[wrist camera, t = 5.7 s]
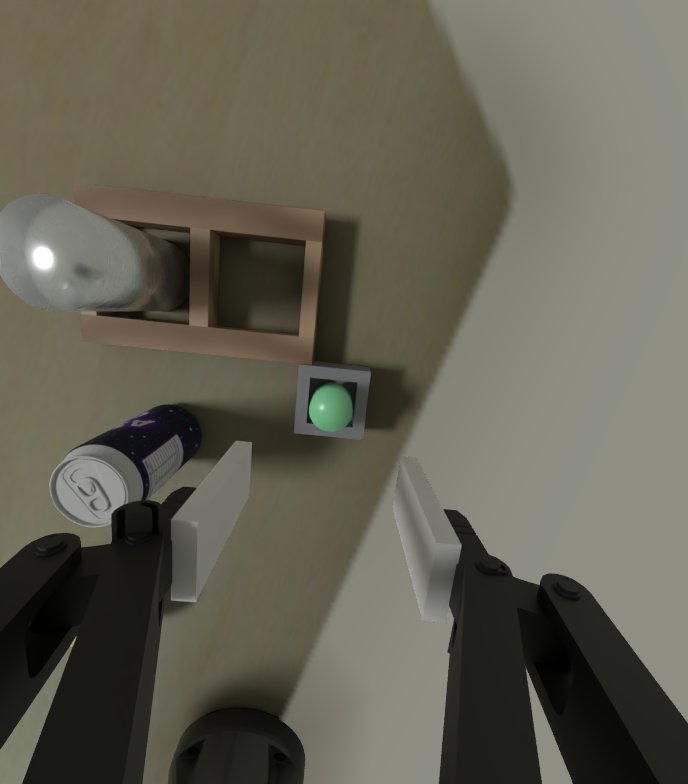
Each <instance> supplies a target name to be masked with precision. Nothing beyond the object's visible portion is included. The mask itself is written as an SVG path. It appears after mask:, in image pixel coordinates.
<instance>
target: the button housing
mask: <svg viewBox="0 0 688 784" xmlns="http://www.w3.org/2000/svg"><path fill="white" fill-rule="evenodd" d="M370 376H371V371H370V369H369V367H368V366H358V365H348V364H339V363H329V362H319V361H313V363H312V365H308V364H299V372H298V385H297V398H296V410H295V423H294V433H297V434H307V435H318V436H328V437H339V438H349V439H359V440H363V434H364V426H365V417H366V409H367V401H368V393H369V384H370ZM329 382H334V383H339V384H341V385H343V386H344V387H345V388H346V389H347V390H348V391H349V393H350V395H351V400H352V409H353V413H352V417H351V420H350V422H349V423H348V424H347V425H346V426H345V427H344V428H343V429H341V430H338V431H334V432H328V431H324V430H321V429H319V428H318V427H317V426H315V425H314V423H313V422H312V420H311V418H310V415H309V406H310V403H311V400H312V397H313V394H314V392H315V391H316V389H317V388H318V387H319V386H321V385H323V384H325V383H329Z"/></svg>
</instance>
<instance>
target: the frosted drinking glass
mask: <svg viewBox="0 0 688 784" xmlns="http://www.w3.org/2000/svg"><path fill="white" fill-rule="evenodd" d="M0 275H1V277H2V279H3V280H4V282H5V283H6V284H7V286H8V287H9V288H10V289H11V290H12V291H13V292H14V293H15V294H16V295H17V296H18V297H20V298H21V299H23V300H24V301H25V302H27V303H29V304H31V305H33V306H35V307H38V308H41V309H44V310H49V311H169V310H172V309H175V308H177V307H178V306H180V305H181V304H182V303H183V302H184V301H185V300H186V299H187V298H188V296H189V294H190V263H189V261H188V259H187V257H186V256H185V255H184V253H183V252H182V251H181V250H180V249H179V248H178V247H177V246H175V245H174V244H172V243H170V242H168V241H166V240H163V239H161V238H158V237H156V236H153V235H151V234H148V233H146V232H143V231H141V230H138V229H136V228H133V227H131V226H128V225H126V224H123V223H121V222H118V221H116V220H113V219H111V218H108V217H106V216H103V215H101V214H98V213H96V212H93V211H91V210H89V209H86V208H84V207H81V206H79V205H76V204H74V203H71V202H69V201H66V200H64V199H61V198H58V197H55V196H52V195H47V194H29V195H25V196H22V197H19V198H17V199H15V200H13V201H12V202H10V203H9V204H8V205H7V206H6V207H5V208H4V209H3V210H2V211H1V212H0Z"/></svg>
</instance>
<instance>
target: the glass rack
mask: <svg viewBox="0 0 688 784" xmlns="http://www.w3.org/2000/svg"><path fill="white" fill-rule="evenodd" d="M74 189H75V204H76V205H79V206H81V207H84V208H86V209H89V210H91V211H93V212H96V213H98V214H101V215H103V216H106V217H108V218H111V219H113V220H116V221H118V222H121V223H123V224H126V225H128V226H133V227H142V228H151V229H160V230H169V231H178V232H187V233H190V306H189V323H185V322H175V321H166V320H156V319H146V318H137V317H127V316H117V315H115V311H81V326H82V342H91V343H101V344H111V345H120V346H130V347H140V348H150V349H160V350H170V351H179V352H189V353H199V354H209V355H219V356H229V357H239V358H248V359H258V360H268V361H278V362H288V363H298V364H308V365H312V363H313V361H314V353H315V341H316V329H317V318H318V306H319V295H320V283H321V271H322V260H323V248H324V237H325V225H326V216H325V211H318V210H309V209H300V208H292V207H283V206H274V205H265V204H257V203H248V202H239V201H230V200H222V199H213V198H204V197H195V196H187V195H178V194H169V193H160V192H152V191H143V190H134V189H125V188H117V187H108V186H99V185H90V184H82V183H74ZM220 236H223V237H232V238H241V239H250V240H259V241H268V242H277V243H286V244H295V245H304V246H306V249H305V262H304V275H303V288H302V301H301V314H300V328H299V334H291V333H281V332H271V331H262V330H252V329H243V328H233V327H223V326H218V300H219V265H220Z"/></svg>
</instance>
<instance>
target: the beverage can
mask: <svg viewBox="0 0 688 784" xmlns="http://www.w3.org/2000/svg"><path fill="white" fill-rule="evenodd" d="M200 443H201V430H200V427H199V424H198V422H197V421H196V419H195V418H194V417H193V416H192V415H191V414H190V413H189V412H188V411H186V410H185V409H183V408H181V407H178V406H175V405H160V406H157V407H154V408H152V409H150V410H148V411H146V412H144V413H142V414H140V415H138V416H136V417H135V418H133V419H131V420H129V421H127V422H125V423H123V424H121V425H119V426H117V427H115V428H113V429H111V430H109V431H107V432H105V433H103V434H101V435H99V436H97V437H95V438H93V439H91V440H89V441H88V442H86V443H84V444H82V445H80V446H78V447H76V448H74V449H73V450H71V451H70V452H69V453H68V454H67V455H66V456H65V458H64V459H63V461H62V463H60V464H59V465H58V466H57V467H56V469H55V470H54V472H53V474H52V476H51V479H50V495H51V498H52V501H53V502H54V504H55V506H56V508H57V509H58V510H59V511H60V512H61V513H62V515H64V516H65V517H66V518H67V519H69V520H71V521H72V522H74V523H76V524H79V525H82V526H86V527H104V526H107V525H110V524H112V523H111V514H112V513H113V512H114V510H115V509H117V508H118V507H120V506H122V505H124V504H127V503H130V502H135V501H141V500H148V499H149V498H150V497H151V496H152V495H153V494H154V493H155V492H156V491H157V490H158V489H159V488H160V487H162V486H163V485H164V484H165V483H166V482H167V481H168V480H169V479H170V478H171V477H172V476H173V475H174V474H175V473H176V472H177V471H178V470H179V469H180V468H181V467H182V466H183V465H184V464H185V463H186V462H187V461H188V460H189V459H190V458H191V457H192V456H193V455H194V454H195V453H196V452H197V450H198V449H199V447H200Z"/></svg>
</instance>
